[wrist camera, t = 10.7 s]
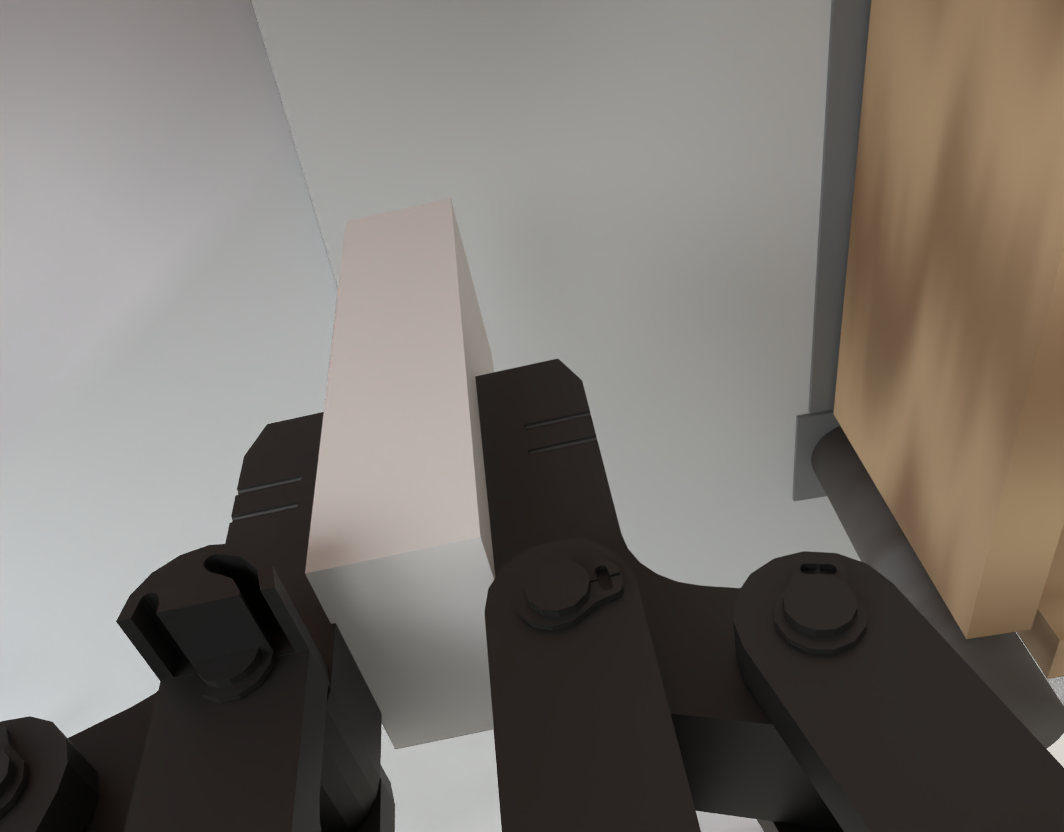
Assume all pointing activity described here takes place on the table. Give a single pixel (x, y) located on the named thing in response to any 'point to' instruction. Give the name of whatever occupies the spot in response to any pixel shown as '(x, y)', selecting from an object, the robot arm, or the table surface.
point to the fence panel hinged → (962, 295)
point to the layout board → (622, 224)
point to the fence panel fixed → (999, 660)
